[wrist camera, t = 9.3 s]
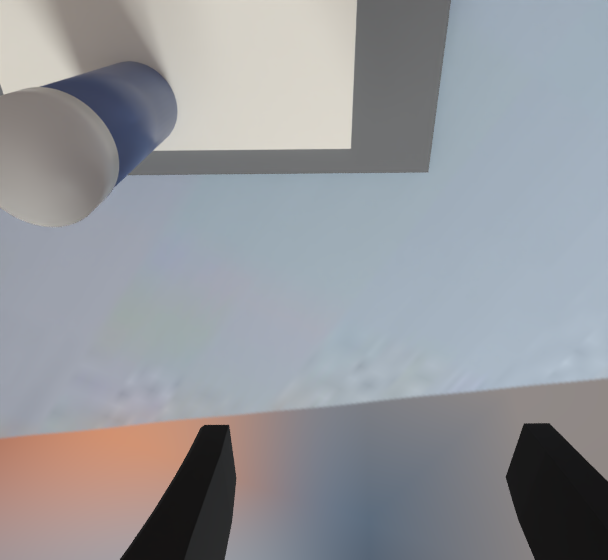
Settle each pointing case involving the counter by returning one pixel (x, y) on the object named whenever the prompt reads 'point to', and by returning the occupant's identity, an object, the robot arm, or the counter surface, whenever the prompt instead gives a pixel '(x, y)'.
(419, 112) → the desk mat
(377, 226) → the counter surface
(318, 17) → the paper
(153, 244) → the counter surface
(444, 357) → the counter surface
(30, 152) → the marker
